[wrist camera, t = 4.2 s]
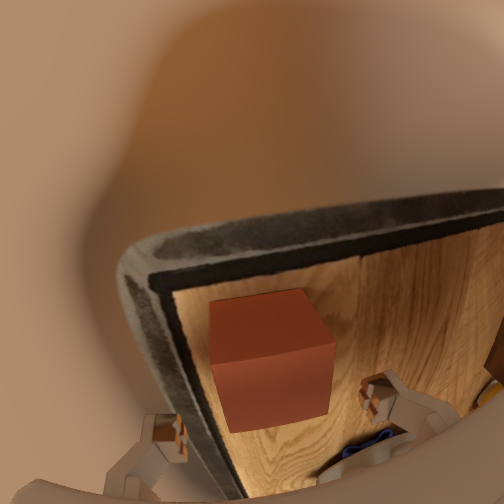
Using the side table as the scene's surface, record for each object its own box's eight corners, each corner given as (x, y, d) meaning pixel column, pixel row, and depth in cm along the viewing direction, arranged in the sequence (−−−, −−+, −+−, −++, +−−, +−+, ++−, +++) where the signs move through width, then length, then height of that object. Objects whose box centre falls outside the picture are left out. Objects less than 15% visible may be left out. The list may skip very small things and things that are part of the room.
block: (208, 301, 15) (209, 365, 10) (301, 287, 15) (336, 341, 10) (223, 369, 16) (230, 434, 12) (302, 356, 17) (328, 414, 12)
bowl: (516, 347, 25) (540, 368, 19) (500, 389, 29) (518, 408, 23) (468, 393, 25) (492, 420, 19) (455, 427, 29) (472, 451, 23)
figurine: (282, 461, 21) (305, 493, 30) (303, 534, 13) (319, 535, 22) (439, 390, 21) (408, 450, 30) (478, 446, 14) (428, 487, 23)
